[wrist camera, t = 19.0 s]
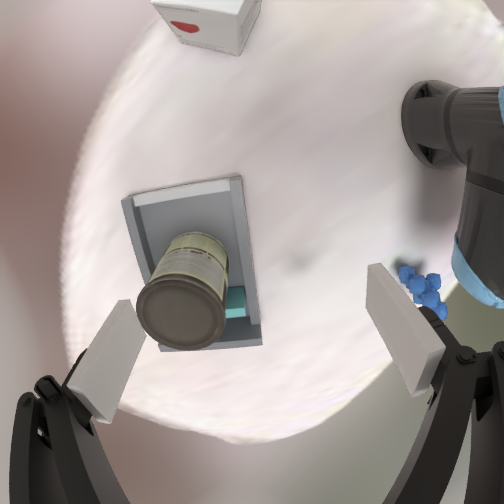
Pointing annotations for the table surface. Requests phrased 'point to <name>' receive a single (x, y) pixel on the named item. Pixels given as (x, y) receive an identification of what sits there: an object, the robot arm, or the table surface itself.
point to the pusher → (235, 302)
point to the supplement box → (210, 22)
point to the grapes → (424, 289)
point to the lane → (207, 221)
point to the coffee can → (187, 293)
